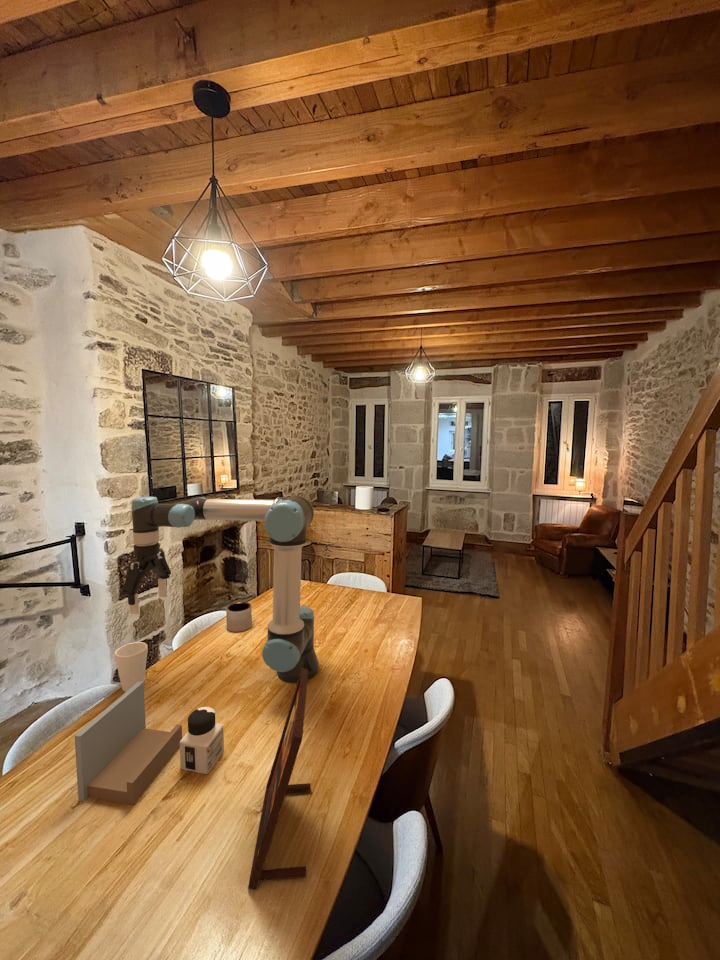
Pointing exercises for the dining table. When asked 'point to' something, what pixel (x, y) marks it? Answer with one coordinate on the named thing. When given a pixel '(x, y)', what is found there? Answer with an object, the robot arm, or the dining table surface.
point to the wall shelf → (122, 751)
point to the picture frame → (281, 788)
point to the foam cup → (131, 663)
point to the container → (201, 741)
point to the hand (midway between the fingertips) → (149, 604)
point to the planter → (239, 616)
